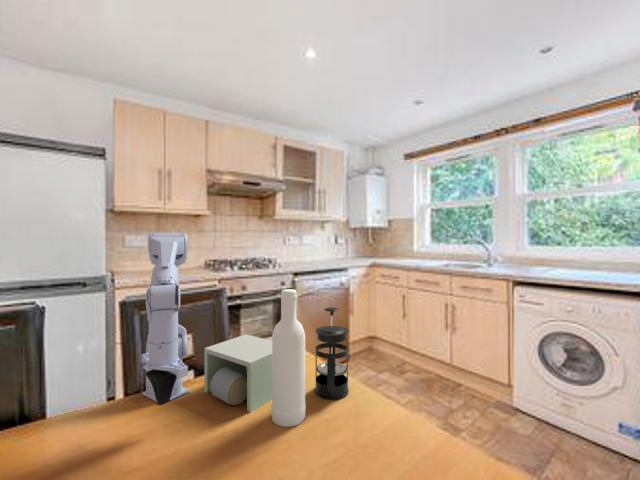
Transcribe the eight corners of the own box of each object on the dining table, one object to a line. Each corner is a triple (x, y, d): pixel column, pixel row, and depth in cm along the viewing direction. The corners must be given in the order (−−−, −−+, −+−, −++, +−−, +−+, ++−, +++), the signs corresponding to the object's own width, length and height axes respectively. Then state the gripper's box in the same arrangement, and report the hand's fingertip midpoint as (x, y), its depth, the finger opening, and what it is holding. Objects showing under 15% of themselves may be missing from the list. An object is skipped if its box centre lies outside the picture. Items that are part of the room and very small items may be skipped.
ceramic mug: (229, 411, 75) (229, 380, 75) (209, 401, 80) (209, 371, 80) (261, 395, 84) (262, 366, 84) (241, 386, 89) (242, 359, 89)
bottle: (268, 427, 69) (268, 293, 69) (274, 408, 77) (274, 287, 77) (304, 427, 69) (304, 293, 69) (306, 408, 77) (306, 287, 77)
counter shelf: (204, 391, 85) (204, 348, 85) (245, 372, 98) (245, 334, 98) (250, 412, 75) (250, 362, 75) (290, 387, 88) (290, 345, 88)
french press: (316, 381, 91) (316, 303, 91) (348, 382, 91) (348, 304, 91) (312, 402, 80) (312, 313, 80) (349, 404, 79) (349, 314, 79)
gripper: (127, 338, 68) (127, 400, 68) (164, 352, 60) (164, 422, 60) (158, 330, 74) (158, 387, 74) (196, 342, 66) (196, 405, 66)
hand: (163, 402), depth 68 cm, fingers closed
